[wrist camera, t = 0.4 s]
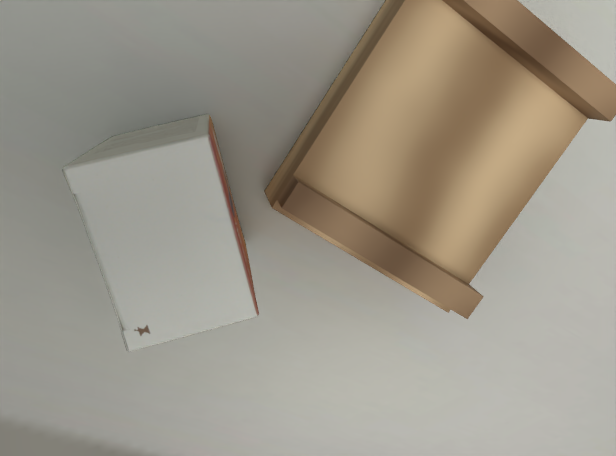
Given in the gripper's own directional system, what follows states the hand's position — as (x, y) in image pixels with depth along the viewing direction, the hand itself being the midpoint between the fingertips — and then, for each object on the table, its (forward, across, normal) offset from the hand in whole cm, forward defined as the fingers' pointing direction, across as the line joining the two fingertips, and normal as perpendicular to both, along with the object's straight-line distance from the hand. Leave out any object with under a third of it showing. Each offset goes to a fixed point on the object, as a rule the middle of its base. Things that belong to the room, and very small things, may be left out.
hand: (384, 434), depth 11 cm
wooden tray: (+22, +9, +2) cm, 24 cm away
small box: (+22, -5, +1) cm, 23 cm away
